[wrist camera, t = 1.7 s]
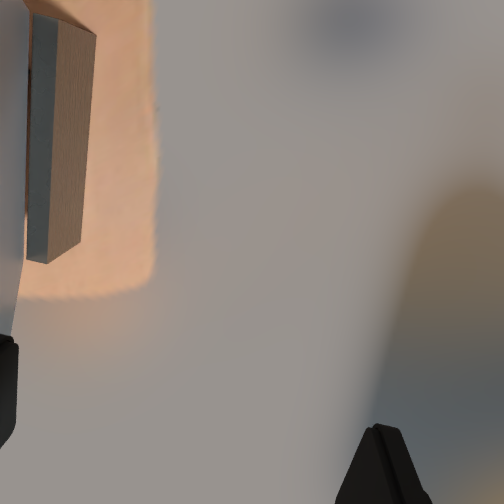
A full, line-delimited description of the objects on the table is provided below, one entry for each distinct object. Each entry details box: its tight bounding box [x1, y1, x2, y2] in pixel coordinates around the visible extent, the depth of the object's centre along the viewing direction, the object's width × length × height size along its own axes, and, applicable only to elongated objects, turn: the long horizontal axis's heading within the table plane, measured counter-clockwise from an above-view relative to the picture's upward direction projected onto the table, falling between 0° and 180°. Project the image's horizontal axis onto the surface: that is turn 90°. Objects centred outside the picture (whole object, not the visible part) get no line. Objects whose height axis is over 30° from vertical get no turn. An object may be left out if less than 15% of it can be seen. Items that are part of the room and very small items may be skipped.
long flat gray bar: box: [26, 13, 96, 264], centre depth 37 cm, size 21×2×7 cm, turn 167°
